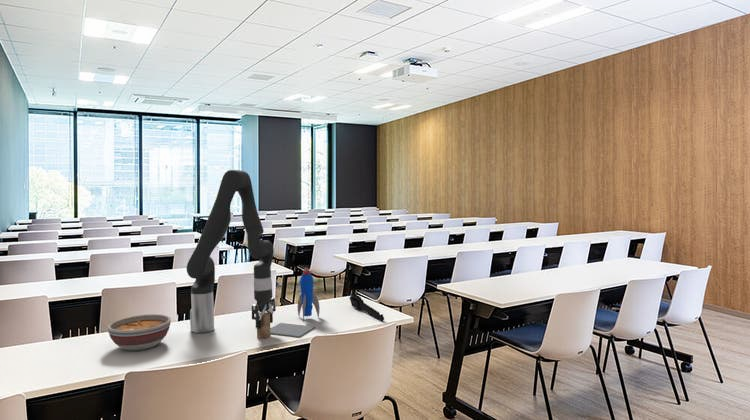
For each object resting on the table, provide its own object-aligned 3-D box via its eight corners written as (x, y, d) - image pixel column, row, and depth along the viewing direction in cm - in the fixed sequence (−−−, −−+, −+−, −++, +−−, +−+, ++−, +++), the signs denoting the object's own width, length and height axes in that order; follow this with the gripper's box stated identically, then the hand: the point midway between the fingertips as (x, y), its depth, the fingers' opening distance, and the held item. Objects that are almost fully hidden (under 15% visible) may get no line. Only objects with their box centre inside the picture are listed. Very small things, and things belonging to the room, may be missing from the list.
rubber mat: (263, 333, 208) (263, 331, 208) (280, 324, 221) (280, 322, 221) (299, 337, 202) (299, 336, 202) (315, 327, 215) (315, 326, 215)
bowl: (130, 360, 178) (129, 334, 178) (96, 350, 190) (95, 325, 190) (183, 342, 198) (182, 318, 197) (149, 333, 210) (148, 311, 209)
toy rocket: (319, 317, 232) (318, 266, 231) (315, 322, 223) (314, 269, 221) (298, 316, 233) (296, 265, 232) (292, 322, 224) (291, 269, 222)
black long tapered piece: (386, 322, 224) (386, 306, 223) (379, 323, 222) (379, 307, 221) (353, 305, 254) (353, 291, 254) (347, 306, 253) (347, 291, 252)
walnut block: (257, 337, 202) (256, 314, 202) (262, 334, 206) (261, 311, 206) (265, 338, 201) (264, 315, 200) (270, 335, 205) (269, 312, 204)
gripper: (264, 283, 210) (266, 320, 211) (245, 291, 197) (247, 329, 198) (279, 284, 208) (281, 321, 209) (260, 292, 194) (262, 331, 195)
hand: (264, 325), depth 203 cm, fingers open, 8 cm apart
